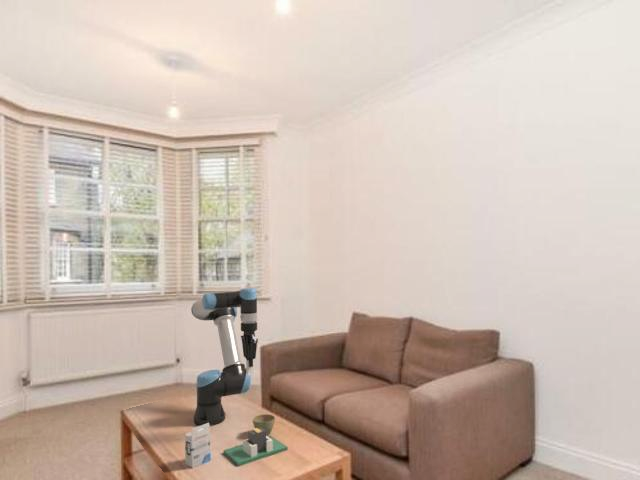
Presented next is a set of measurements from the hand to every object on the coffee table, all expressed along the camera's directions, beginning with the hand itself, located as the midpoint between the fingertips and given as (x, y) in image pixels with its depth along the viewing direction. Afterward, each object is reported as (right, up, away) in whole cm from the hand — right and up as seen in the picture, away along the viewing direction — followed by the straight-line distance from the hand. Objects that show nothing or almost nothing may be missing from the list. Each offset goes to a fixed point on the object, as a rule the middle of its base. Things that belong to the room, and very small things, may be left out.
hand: (249, 373), depth 197 cm
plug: (+7, -24, -23) cm, 34 cm away
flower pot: (+7, -26, -5) cm, 27 cm away
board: (+6, -25, -22) cm, 34 cm away
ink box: (-15, -26, -30) cm, 42 cm away
